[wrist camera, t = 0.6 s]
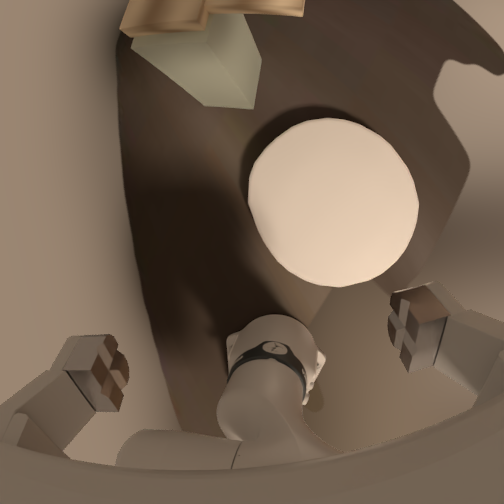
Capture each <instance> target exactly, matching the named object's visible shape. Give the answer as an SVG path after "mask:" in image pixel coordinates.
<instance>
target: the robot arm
mask: <svg viewBox="0 0 504 504" xmlns="http://www.w3.org/2000/svg"><path fill="white" fill-rule="evenodd" d="M390 305H391V307H392V309H393V311H392V312H391V314H390V315H389V317H388V333H389V337H390V340H391V342H392V344H393V346H394V347H395V348H397V349H399V350H401V353H400V359H401V361H402V362H403V364H404V366H405V368H406V370H407V372H408V373H410V372H413V371H417V370H420V369H424V368H427V367H431V366H434V368H436V369H437V370H439V371H440V372H442V373H443V374H445V375H447V376H448V377H449V378H451V379H453V380H454V381H456V382H457V383H459V384H460V385H462V386H463V387H465V388H466V389H468V390H469V391H471V392H472V393H474V394H476V395H477V396H478V397H477V399H476V401H475V403H474V405H473V407H472V408H471V409H470V410H467V411H465V412H463V413H460V414H458V415H456V416H454V417H451V418H449V419H447V420H444V421H442V422H439V423H437V424H434V425H432V426H429V427H427V428H424V429H421V430H418V431H416V432H413V433H410V434H407V435H404V436H401V437H398V438H395V439H392V440H389V441H386V442H382V443H379V444H375V445H371V446H368V447H364V448H360V449H356V450H352V451H348V452H343V451H340V450H338V449H336V448H334V447H332V446H330V445H328V444H327V443H325V442H324V441H323V440H321V439H320V438H319V437H318V436H316V435H315V434H314V433H313V432H312V431H311V430H310V428H309V427H308V426H307V425H306V423H305V422H304V419H303V412H302V404H303V405H306V403H307V401H308V399H309V394H308V392H309V390H311V389H312V388H313V385H314V381H315V379H316V378H317V376H318V374H319V372H320V370H321V368H322V367H323V365H324V363H325V360H326V355H325V354H324V352H323V351H322V350H321V349H319V348H318V347H317V346H316V344H315V342H314V340H313V337H312V335H311V333H310V332H309V331H308V329H307V328H306V327H305V326H304V325H303V324H302V323H300V322H299V321H297V320H295V319H293V318H291V317H288V316H284V315H277V314H273V315H265V316H262V317H259V318H257V319H255V320H253V321H252V322H250V323H249V324H248V325H247V326H246V327H245V328H244V329H243V330H241V331H239V332H236V333H233V334H231V335H229V336H228V338H227V341H226V343H227V356H228V368H229V375H228V379H227V386H226V388H225V390H224V392H223V394H222V396H221V398H220V400H219V403H218V406H217V420H218V423H219V426H220V428H221V429H222V431H223V433H224V434H225V436H226V437H227V438H228V439H225V438H219V437H213V436H208V435H202V434H197V433H192V432H187V431H176V430H153V429H143V430H140V431H138V432H136V433H135V434H133V435H132V436H131V437H130V438H129V439H128V440H127V441H126V442H125V443H124V444H123V446H122V447H121V449H120V451H119V453H118V456H117V459H116V464H115V466H110V465H102V464H96V463H89V462H83V461H77V460H72V459H70V458H69V457H68V456H67V455H66V454H65V453H64V452H63V450H64V449H65V448H66V446H67V445H68V444H69V443H70V442H71V441H72V440H73V438H74V437H75V436H76V435H77V434H78V433H79V432H80V431H81V429H82V428H83V427H84V426H85V425H86V424H87V423H88V421H89V420H90V419H91V418H92V417H93V416H94V415H95V413H96V412H119V410H120V407H121V403H122V400H123V397H124V395H123V393H122V391H121V389H122V388H124V387H125V386H126V385H127V383H128V380H129V366H128V363H127V360H126V358H125V356H124V355H123V354H121V353H120V352H119V351H117V348H118V343H117V341H116V339H115V338H114V336H112V335H110V334H104V335H84V336H71V337H69V338H68V339H67V340H66V342H65V344H64V345H63V347H62V349H61V351H60V353H59V354H58V356H57V358H56V360H55V361H54V363H53V365H52V367H51V369H50V370H49V371H48V370H46V371H45V372H43V373H42V374H41V375H39V376H38V377H37V378H35V379H34V380H33V381H31V382H30V383H29V384H27V385H26V386H25V387H23V388H22V389H21V390H19V391H18V392H17V393H16V394H15V395H13V396H12V397H10V398H9V399H8V400H7V401H5V402H4V403H3V404H2V405H0V504H504V322H501V321H499V320H496V319H493V318H491V317H488V316H485V315H483V314H481V313H478V312H475V311H473V310H467V311H466V310H465V309H464V308H463V307H462V305H461V304H460V303H459V302H458V301H457V300H456V299H455V298H454V297H453V296H452V295H451V294H450V293H449V291H448V290H447V289H446V288H445V287H444V286H443V285H442V284H441V283H440V282H438V281H434V282H431V283H427V284H423V285H422V286H418V287H413V288H409V289H405V290H401V291H396V292H393V293H392V295H391V298H390ZM232 345H233V346H232ZM317 363H319V364H317Z"/></svg>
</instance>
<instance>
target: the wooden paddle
mask: <svg viewBox="0 0 504 504" xmlns="http://www.w3.org/2000/svg"><path fill="white" fill-rule="evenodd" d="M304 3H305V0H129V3H128V5H127V9H126V11H125V14H124V16H123V19H122V22H121V25H120V28H119V29H120V30H121V31H122V32H124V33H125V34H126V35H128V36H129V37H130V38H132V37H139V36H146V35H154V34H164V33H175V32H189V31H205V28H206V24H207V20H208V17H209V14H231V13H245V14H274V15H288V16H299V17H303V11H304Z"/></svg>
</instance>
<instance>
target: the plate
mask: <svg viewBox="0 0 504 504" xmlns="http://www.w3.org/2000/svg"><path fill="white" fill-rule="evenodd" d="M248 204H249V207H250V210H251V213H252V215H253V218H254V221H255V224H256V227H257V230H258V231H259V233H260V235H261V237H262V239H263V241H264V243H265V244H266V246H267V247H268V249H269V250H270V252H271V253H272V254H273V256H274V257H275V259H276V260H277V261H278V262H279V263H280V264H281V265H282V266H283V267H284V268H286V269H287V270H288V271H289V272H291V273H293V274H295V275H296V276H298V277H300V278H301V279H303V280H305V281H308V282H311V283H314V284H317V285H323V286H333V287H343V286H348V285H352V284H356V283H360V282H364V281H368V280H371V279H372V278H374V277H376V276H378V275H380V274H382V273H383V272H385V271H386V270H387V269H388V268H389V267H390V266H391V265H393V264H394V263H395V262H396V261H397V260H398V258H399V257H400V256H401V255H402V253H403V252H404V251H405V249H406V247H407V245H408V243H409V241H410V239H411V237H412V235H413V232H414V228H415V225H416V222H417V216H418V209H419V202H418V197H417V193H416V189H415V185H414V181H413V179H412V176H411V174H410V172H409V170H408V168H407V166H406V165H405V163H404V162H403V161H402V159H401V158H400V157H399V155H398V154H397V153H396V151H395V150H394V149H393V147H392V146H391V145H390V144H389V143H388V142H387V141H385V140H384V139H383V138H382V137H381V136H380V135H378V134H376V133H375V132H373V131H371V130H369V129H367V128H366V127H364V126H362V125H360V124H357V123H354V122H351V121H348V120H344V119H335V118H323V119H315V120H308V121H305V122H302V123H300V124H297V125H294V126H292V127H291V128H289V129H288V130H287V131H285V132H284V133H282V134H281V135H279V136H278V137H277V138H275V139H274V140H273V141H272V142H271V143H270V144H269V145H268V146H267V147H266V148H265V149H264V151H263V152H262V153H261V155H260V156H259V157H258V159H257V160H256V161H255V163H254V165H253V168H252V171H251V174H250V176H249V191H248Z"/></svg>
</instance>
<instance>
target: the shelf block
mask: <svg viewBox="0 0 504 504" xmlns="http://www.w3.org/2000/svg"><path fill="white" fill-rule="evenodd" d="M131 49H132V50H134V51H135V52H137V53H138V54H139V55H141V56H142V57H143V58H145V59H146V60H147V61H149V62H150V63H151V64H153V65H154V66H155V67H157V68H158V69H159V70H160V71H162V72H163V73H164V74H166V75H167V76H168V77H169V78H171V79H172V80H173V81H175V82H176V83H177V84H178V85H180V86H181V87H182V88H183V89H185V90H186V91H187V92H188V93H190V94H191V95H192V96H193V97H194V98H196V99H197V100H198V101H199V102H201V103H202V104H203V105H204V106H215V107H230V108H243V109H254V103H255V97H256V91H257V85H258V79H259V74H260V68H261V62H262V59H261V57H260V54H259V52H258V49H257V47H256V44H255V42H254V39H253V37H252V34H251V32H250V30H249V27H248V25H247V22H246V20H245V18H244V15H243V13H231V14H209V17H208V20H207V24H206V28H205V31H189V32H175V33H164V34H154V35H146V36H139V37H134V39H133V42H132V46H131Z"/></svg>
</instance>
